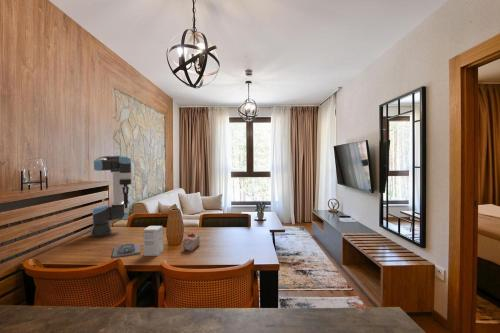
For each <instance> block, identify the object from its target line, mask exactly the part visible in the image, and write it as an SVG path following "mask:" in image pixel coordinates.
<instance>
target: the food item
mask: <svg viewBox="0 0 500 333" xmlns="http://www.w3.org/2000/svg"><path fill="white" fill-rule="evenodd" d="M200 242H201V241H200V235H199V233H190V234H189V233H188V234H187V237H185V238H183V241H182V249H183V250H184V251H188V252H193V251H194V250H196V248H197V247H198V246H200Z"/></svg>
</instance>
